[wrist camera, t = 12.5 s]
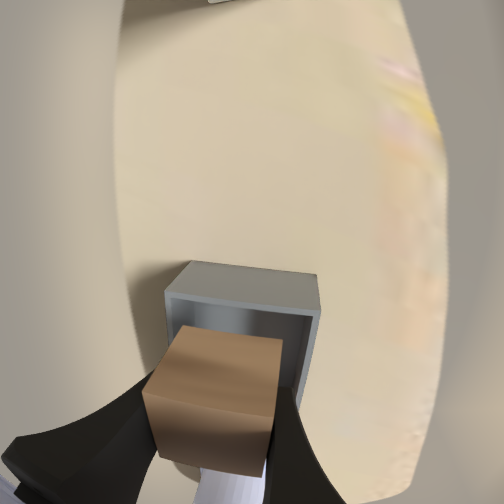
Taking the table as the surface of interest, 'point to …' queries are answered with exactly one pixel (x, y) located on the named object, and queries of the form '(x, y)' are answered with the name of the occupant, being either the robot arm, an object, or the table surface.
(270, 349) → the cube
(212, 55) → the table surface
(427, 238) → the table surface
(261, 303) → the tote
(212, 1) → the skincare box
